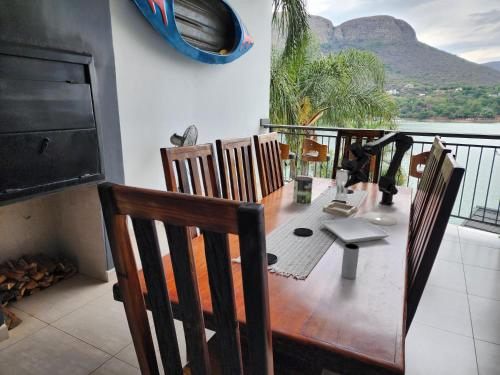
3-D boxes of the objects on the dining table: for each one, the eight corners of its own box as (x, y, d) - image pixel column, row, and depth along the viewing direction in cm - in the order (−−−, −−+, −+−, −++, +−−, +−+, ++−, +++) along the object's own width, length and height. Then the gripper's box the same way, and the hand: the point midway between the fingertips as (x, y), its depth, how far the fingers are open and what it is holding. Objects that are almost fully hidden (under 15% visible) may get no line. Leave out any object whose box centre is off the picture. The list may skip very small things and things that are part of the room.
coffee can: (315, 203, 176) (316, 178, 173) (303, 206, 170) (304, 181, 166) (300, 198, 184) (302, 175, 180) (288, 202, 177) (290, 177, 174)
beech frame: (333, 205, 173) (333, 201, 173) (356, 210, 165) (357, 206, 165) (322, 210, 163) (323, 207, 163) (347, 216, 155) (347, 212, 155)
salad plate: (344, 247, 122) (345, 239, 121) (318, 227, 142) (319, 220, 141) (390, 242, 127) (391, 234, 126) (359, 223, 147) (360, 216, 146)
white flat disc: (368, 211, 163) (368, 210, 163) (400, 218, 153) (401, 217, 153) (356, 219, 151) (356, 218, 151) (391, 227, 141) (391, 226, 141)
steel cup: (348, 201, 159) (351, 172, 155) (334, 200, 160) (336, 172, 156) (347, 197, 165) (350, 169, 161) (334, 196, 167) (336, 169, 163)
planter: (339, 272, 103) (341, 243, 100) (352, 271, 103) (355, 242, 100) (344, 279, 98) (347, 249, 96) (358, 279, 99) (361, 249, 96)
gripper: (339, 150, 166) (320, 172, 165) (364, 155, 150) (344, 180, 148) (349, 164, 172) (331, 185, 170) (375, 170, 155) (356, 194, 154)
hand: (340, 186), depth 160 cm, fingers closed on steel cup, 7 cm apart
